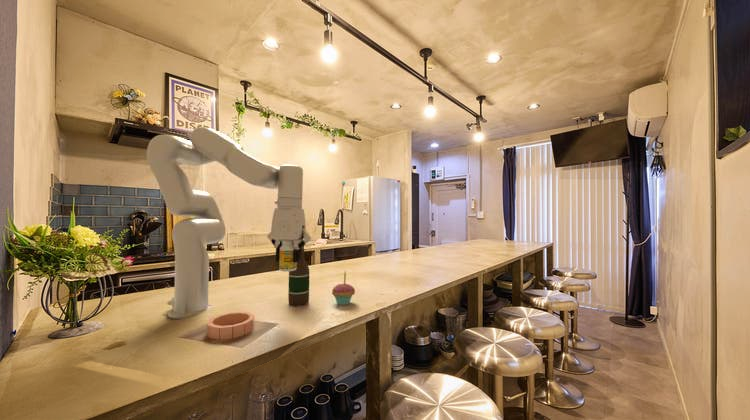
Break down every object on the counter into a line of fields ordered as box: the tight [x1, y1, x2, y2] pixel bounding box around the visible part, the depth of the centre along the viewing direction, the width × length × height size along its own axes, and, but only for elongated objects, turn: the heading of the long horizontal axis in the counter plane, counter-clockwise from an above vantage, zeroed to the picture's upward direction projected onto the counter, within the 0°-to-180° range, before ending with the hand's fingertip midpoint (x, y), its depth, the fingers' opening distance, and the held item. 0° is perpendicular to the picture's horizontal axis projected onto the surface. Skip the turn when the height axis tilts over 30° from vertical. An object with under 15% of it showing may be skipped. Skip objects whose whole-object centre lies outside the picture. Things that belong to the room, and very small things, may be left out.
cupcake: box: [331, 270, 356, 306], centre depth 105 cm, size 9×8×12 cm
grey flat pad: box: [178, 320, 279, 349], centre depth 77 cm, size 20×15×1 cm
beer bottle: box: [287, 239, 310, 307], centre depth 104 cm, size 8×8×24 cm
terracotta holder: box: [206, 311, 255, 340], centre depth 77 cm, size 11×11×3 cm
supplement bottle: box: [278, 240, 297, 272], centre depth 88 cm, size 5×5×10 cm
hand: (288, 260), depth 88 cm, fingers closed on supplement bottle, 5 cm apart
